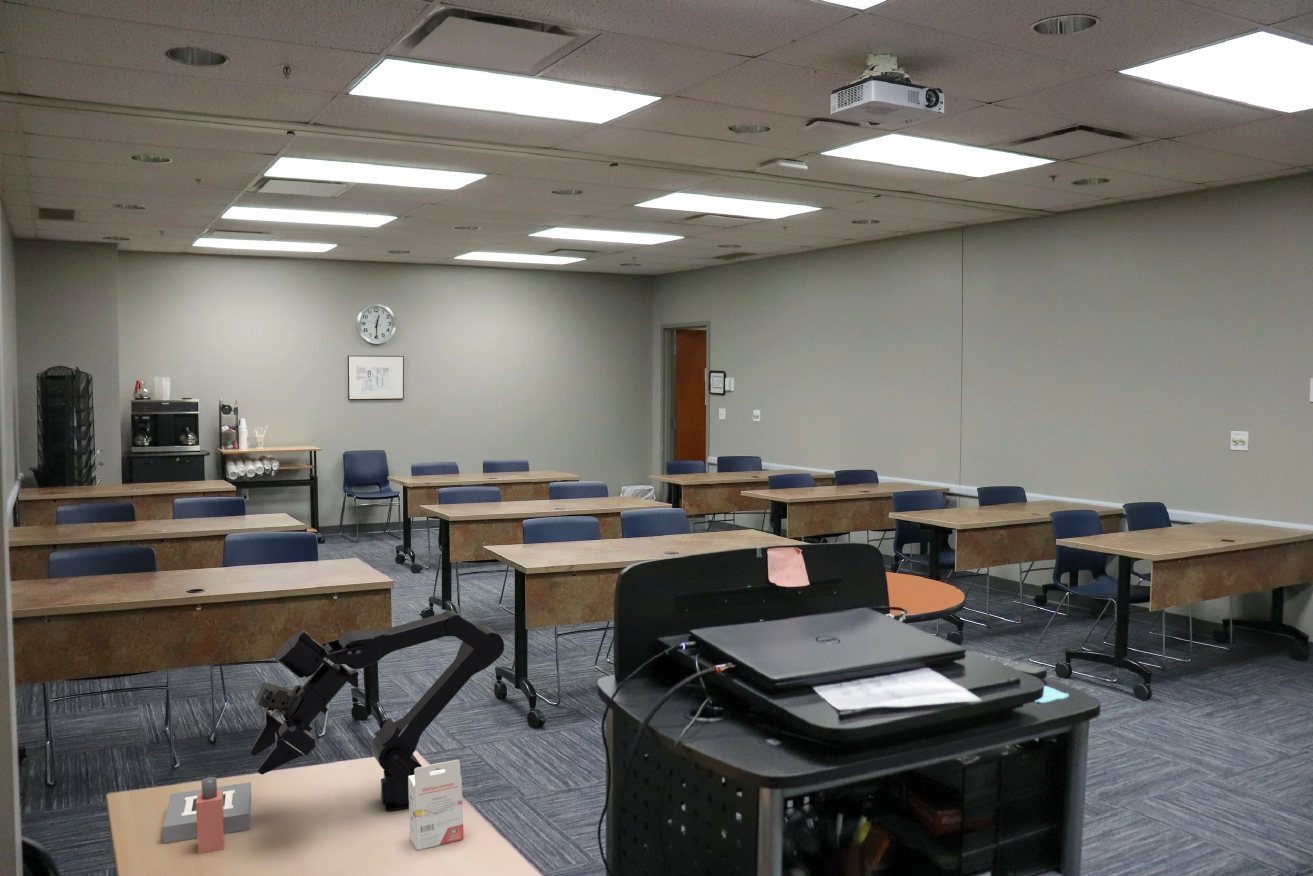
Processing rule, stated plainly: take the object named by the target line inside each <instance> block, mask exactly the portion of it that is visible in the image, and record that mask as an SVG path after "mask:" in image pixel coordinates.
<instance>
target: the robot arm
mask: <svg viewBox="0 0 1313 876" xmlns="http://www.w3.org/2000/svg"><path fill="white" fill-rule="evenodd" d="M448 636H453V637H455V638H457V639H458V640H460V641H461V643H460V647H458V651H457V654H456V656H455V658H454V660H453V662H451V664H450V665H448V667H447V668H446V669H445V670H444V671H443V672H442V674H441V675H440V676H439V677H438V678H437V679H436V680H435V682H434V683H433V684H432V685H431V686H430V687H429V688H428V689H427V691H426V692H425V693H424V694H423V695H422V696H421V697H420V698H419V700H418V701H417V702H416V703H415V704H414V705H413V706H412V707H411V709H410V710H409V711H408V712H407V714H405V715H404V716H403V717H402V718H400V719H397V720H395V721H393V719H392V718H391V717H389V718H388V719H386V721H385V722H384V724H382V725H383V726H382V727H380V728H379V729H378V730H377V731H375V732H374V736H375V737H374V738H373V739H372V741H371V747H370V748H371V753H372V755H373V757H374V758H375V760H376V762H377V763H378V764H379V767H380V768H381V769H382V770H383V778H381V779H380V798H381V803H382V805H384V807H385V811H386V812H391V811H396V810H404V809H409V790H408V776H411V775H415V774H414V770H415V768H417V767H423V765H422V764H421V763H420V761H419V760H418V759H417V757H416V756H415V755H414V753H415V752H416V749H417V747H418V744H419V743H420V742H419V741H420V740H421V737H422V734H423V733H424V731H425V730H427V728H428V727H429V726H430V725H431V723H433V721H434V720H435V719H436V718H437V717H438V716H439V714H440V713H441V712H442V711H443V710H444V709H445V707H446V706H447V705H448V704H449V703H450V702H451V701H452V699H453V698H454V697H455V696H456V695H457V694H458V693H459V692H460V691H461V689H463V687H464V686H465V685H466V684H467V682H468V681H469V680H470V679H471V678H472V677H473V676H474V675H476V674H478V673H480V672H482V671H483V670H486V669H488V668H489V667H490V666H491V665H492V664H493V663H495V662H496V661H497V660H498V659H499V658H500V657H501V656H502V655H503V653H504V651H505V642H504V638H502V636H501V635H500V634H499V633H497V632H496V631H494V630H493V629H492V628H490V627H488V626H486V625H483V624H482V625H475V624H473V623H472V622H470V621H468V620H467V619H465V618H463V617H462V616H461V615H459V614H458V613H457V612H455V611H454V610H446V611H444V612H442V613H440V614H436V615H432V616H428V617H424V618H421V619H417V620H414V621H410V622H406V623H403V624H400V625H396V626H393V627H389V628H383V629H382V628H381V629H360V630H358V629H357V630H350V631H347V632H345V633H343V634H342V635H341V637H340V638H336V639H333V640H329V641H326V642H322V643H319V642H317V641H316V640H315V639H314V638H312V637H311V636H310V634H309V633H308V632H306V631H305V630H304V629H301V630H300V631H299V632H298V633H297V634H294V635H293V636H291V637H290V638H289V639H288V640H285V641H284V642H283V644H282V645H281V646H280V647H279V649H278V650H277V652H276V653H275V655H274V661H276V662H277V663H279V664H280V665H281V666H283V667H284V668H285V669H287V670H288V671H289V672H291V673H292V674H293V675H295V676H296V677H297V678H298V679H303V678H304V677H305V678H308V679H307V680H306V681H305V683H303V685H302V684H300V683H299V684H297V685H296V686H294V688H293V689H289V688H286V687H284V686H280V685H276V684H273V683H269V682H265V681H264V682H262V683H261V686H260V689H259V690H258V693H257V695H256V697H255V700H256V701H257V705H258V706H259V707H261V708H264V710H263V715H264V724H263V726H262V728H261V730H260V732H259V734H258V736H257V738H256V740H255V741H254V743H253V745H252V748H251V749H250V751H249V753H250V755H252V756H254V757H256V756H257V755H259V754H260V753H261V752H264V751H265V750H266V749H268V748H269V747H271V746H272V745H273V747H272V748H271V749H270V751H269V752H268V753H267V755H266V757H265V758H264V760H263V761H262V762H261V764H260V765H259V767H258V769H257V773H258V774H260V775H264V774H265V775H266V774H267V773H268V772H271V771H273V770H274V769H277V768H279V767H281V766H283V765H285V764H287V763H289V762H291V761H294V760H296V759H298V758H300V757H301V758H304V756H306V757H309V755H310V754H311V752H313V750H314V749H315V748H316V739H315V737H314V736H313V734H312V733H311V731H312V729H313V726H312V723H314V722H315V721H316V719H317V718H318V717H319V716H320V715H321V714H322V713H323V714H324V715H326V713H328V711H329V707H328V705H329V704H330V703H331V702H332V701H333V699H334V698H335V697H336V696H337V695H338V694H339V693H340V691H341V690H342V689H343V688H344V687H345V686H346V685H347V683H349V684H350V685H351V686H353V688H355V689H357V688H359V687H360V685H359V672H358V670H362V669H365V668H366V667H369V666H371V665H373V664H375V663H377V662H379V661H381V660H382V659H383V658H385V657H386V656H387V655H389V654H391V653H393V652H396V651H400V650H403V649H407V648H410V647H413V646H417V645H420V644H423V643H427V642H431V641H434V640H437V639H438V640H439V639H441V638H444V637H448ZM344 665H346V666H347V667H348V668H351V669H352V670H350V669H348V668H347V667H345V666H344Z"/></svg>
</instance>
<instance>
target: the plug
mask: <svg viewBox="0 0 1313 876" xmlns="http://www.w3.org/2000/svg"><path fill="white" fill-rule="evenodd" d="M217 783H218V781H217V777H215V776H207V777H204V778H202V779H201V789H202V793H198V796H197V801H196V813H197V837H198V838H197V854H198V855H200V854H205V853H210V852H215V851H216V852H217V851H222V850H224V849H225V839H226V835H225V834H226V833H225V832H224V807H223V790H218V791H217V787H218V786H217V785H218V784H217Z"/></svg>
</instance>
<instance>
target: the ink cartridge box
mask: <svg viewBox="0 0 1313 876" xmlns="http://www.w3.org/2000/svg"><path fill="white" fill-rule="evenodd" d="M414 774H415V775H411V776H408V790H409V808H408V813H409V814H408V816H409V818H408V819H409V837H410V838H409V839H410V841H411V843H412V845H413V846H414V848H415V850H417V851H420V850H424V849H425V850H426V849H429V848H432V847H433V848H434V847H437V846H441V845H444V844H450V843H454V842H457V841H461V840H463V839H464V814H463V813H464V811H463V807H464V806H463V780H462V776H461V762H460V760H459V759H453V760H449V761H443V762H442V761H441V762H438V763H434V764H428V765H422V767H417V768H415V770H414Z"/></svg>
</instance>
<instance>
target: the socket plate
mask: <svg viewBox="0 0 1313 876" xmlns="http://www.w3.org/2000/svg"><path fill="white" fill-rule="evenodd" d="M218 790H223V807H224V832H225V834H230V833H231V834H232V833H237V832H243V831H249V830H250V826H251V812H252V810H251V809H252V782H243V783H237V784H229V785H222V786H217V791H218ZM198 793H202V788H201V789H196V790H188V791H183V792H182V791H181V792H176V793H175V792H174V793H170V795H169V800H168V804H167V808H166V811H165V815H164V820H163V823H162V843H163V845H164V844H169V843H175V842H176V843H177V842H181V841H188V840H193V839H198V837H197V813H196V801H197V796H198Z"/></svg>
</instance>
